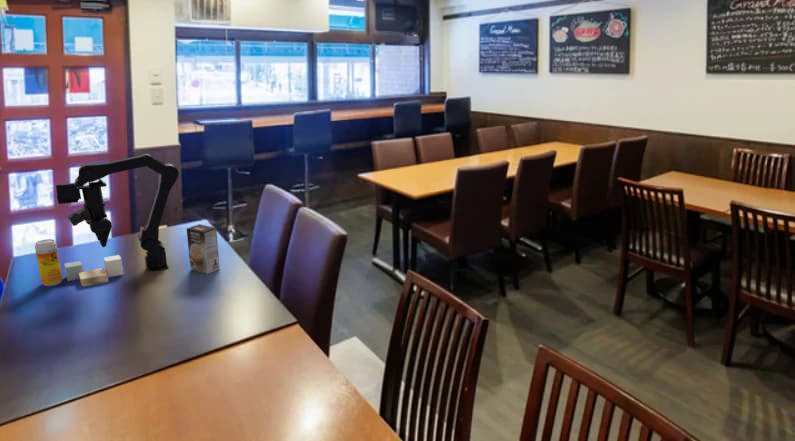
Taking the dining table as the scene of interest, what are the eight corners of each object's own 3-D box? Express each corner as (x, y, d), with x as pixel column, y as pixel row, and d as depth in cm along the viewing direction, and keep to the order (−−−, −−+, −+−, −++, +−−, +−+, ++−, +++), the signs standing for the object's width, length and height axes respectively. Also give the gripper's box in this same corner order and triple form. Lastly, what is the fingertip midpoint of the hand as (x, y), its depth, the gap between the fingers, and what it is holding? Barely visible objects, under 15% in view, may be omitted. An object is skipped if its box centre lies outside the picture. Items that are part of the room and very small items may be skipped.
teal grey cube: (82, 274, 193) (80, 260, 192) (84, 278, 189) (82, 264, 188) (66, 276, 190) (64, 263, 189) (67, 281, 187) (65, 267, 185)
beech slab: (105, 275, 193) (104, 267, 192) (108, 282, 186) (107, 274, 186) (79, 280, 188) (78, 272, 187) (82, 287, 182) (80, 279, 181)
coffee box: (189, 270, 197) (185, 228, 193) (203, 264, 203) (199, 223, 198) (207, 274, 193) (203, 231, 189) (220, 268, 199) (217, 227, 194)
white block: (121, 270, 197) (119, 254, 195) (123, 274, 193) (121, 258, 191) (106, 273, 194) (103, 257, 192) (108, 277, 190) (105, 261, 188)
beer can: (52, 287, 181) (45, 244, 177) (37, 285, 182) (29, 243, 178) (66, 280, 187) (59, 239, 183) (51, 279, 188) (44, 238, 184)
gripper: (63, 199, 187) (72, 241, 191) (69, 209, 172) (78, 255, 177) (99, 194, 193) (107, 235, 197) (108, 204, 178) (116, 248, 183)
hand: (101, 243), depth 188 cm, fingers open, 9 cm apart
